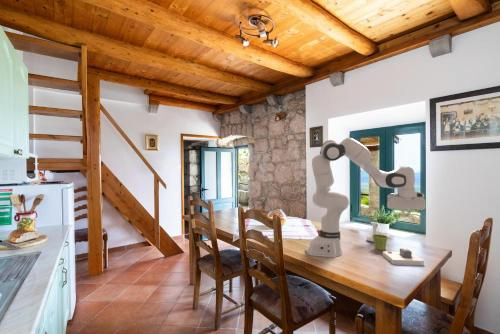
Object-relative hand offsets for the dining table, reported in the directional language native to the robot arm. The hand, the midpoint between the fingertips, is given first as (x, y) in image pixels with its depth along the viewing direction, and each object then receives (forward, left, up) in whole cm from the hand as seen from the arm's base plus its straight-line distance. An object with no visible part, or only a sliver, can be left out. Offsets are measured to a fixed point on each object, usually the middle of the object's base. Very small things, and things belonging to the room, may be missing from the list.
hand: (406, 216), depth 146 cm
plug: (-2, -3, -25) cm, 25 cm away
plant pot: (-9, +16, -25) cm, 31 cm away
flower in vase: (-7, +33, -25) cm, 42 cm away
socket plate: (-4, -3, -25) cm, 25 cm away
